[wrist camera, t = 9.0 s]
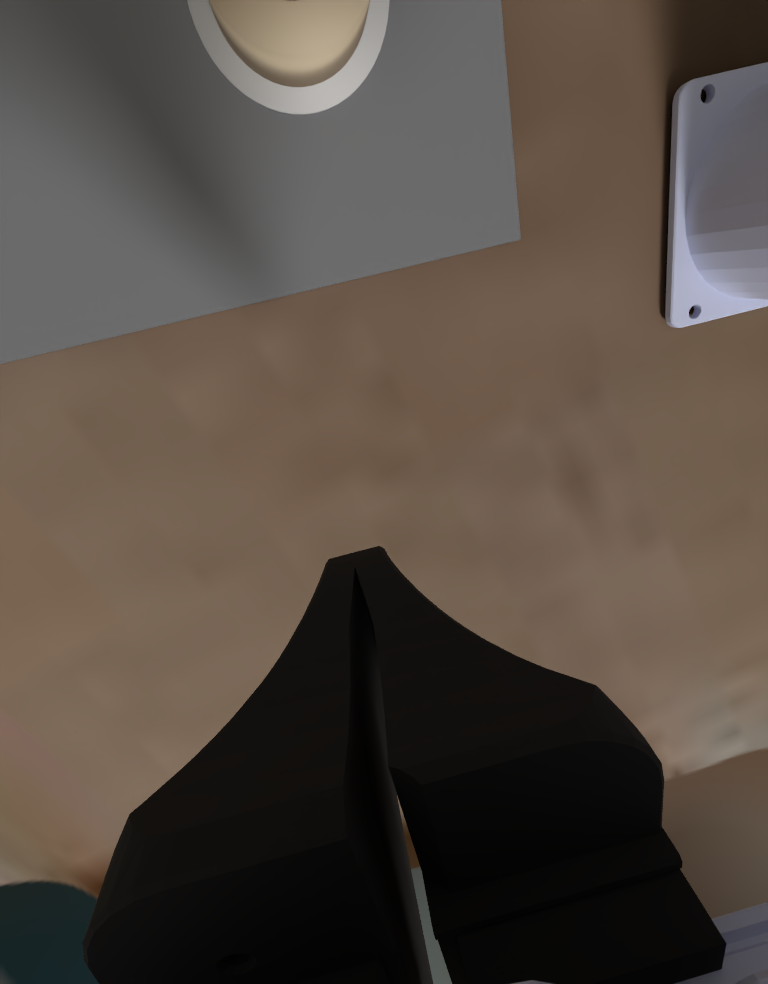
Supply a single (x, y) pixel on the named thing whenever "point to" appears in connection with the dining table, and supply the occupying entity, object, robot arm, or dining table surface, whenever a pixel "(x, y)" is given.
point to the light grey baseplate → (234, 162)
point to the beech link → (292, 36)
